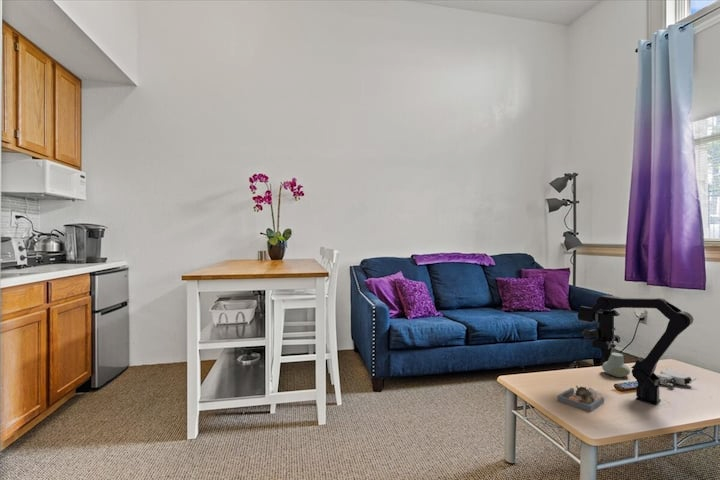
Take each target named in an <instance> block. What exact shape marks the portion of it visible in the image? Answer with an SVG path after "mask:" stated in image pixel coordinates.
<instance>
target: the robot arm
mask: <svg viewBox="0 0 720 480" xmlns="http://www.w3.org/2000/svg"><path fill="white" fill-rule="evenodd" d="M623 308H624V309H626V308H629V309H656V310H658V312H660V313H661V314H662V315H663V316H664V317H665V318H667V319H668V320H669V321H668V323H667V325H666V328H665V331H664V333H663V334H662V335H661V336H660V338H659V339H658V341H657V342H656V343H655V345H654V346H653V347H652V348H651V350H650V352H649V353H648V354H647V355H646V356H645V358H643V357H642V356H641V357H639V358H638V359H636V361H635V363H634V365H633V366H631V369H632V370H631V374H632V377H633V378H634V379H635V380H636V382H637V385H636V387H635V389H636V392H635V395H636V400H638V401H642V402H646V403H648V404H652V405H657V404H659V403H660V402H661V398H660V386H659V384H660V383H659V382H660V379H659V378H658V377H657V376H656V375H657V374H656V373H655V371H656V368H657V366H658V363H659V361H660V360H661V359H662V357H663V356H664V354H665V353H666V352H667V350H669V348H670V347H671V345H673V343H674V342H675V340H676V339H677V338H678V336H679V335H680V334H682V333H683V332H684V331H685V330H686V329H687V328H689V327H690V326H691V325H692V324H693V323H694V317H693V316H692V314H691V313H689V312H687V311H685V310H681V309H680V308H679V307H677V306H675V305H674V304H672V303H671V302H669V301H667V300H666V299H665V298H663V297H657V298H646V297H645V298H644V297H643V298H641V297H640V298H632V297H631V298H630V297H629V298H627V297H625V298H624V297H619V296H615V295H608V294H607V295H602V296H599V297H598V298H597V299H596V304H594V306H593V307H589V306H584V305H580V306H579V310H578V312H577V320H578V321H579V322H583V323H584V322H585V323H591V324H594V323H596V322H597V326H596V327H595V329H589V328H588V329H584V330H583V331H582V337H584V339H585V340H588V339H594V338H595V339H594V340H592V341H591V342H590V346H591V347H592V348H597V349H600V352H601V354H602V358H603V360H604V362H607V361H608V360H609V358H610V356H611V354H612V352H614V351H615V348H616V347H617V344H620V343H621V337H620V336H619V335H617V334H615V331H616V327H615V317H618V316H620V315H621V314H620V313H619V312H618V311H617V309H623ZM601 310H602V311H601ZM611 310H612V311H611ZM613 342H616V343H617V344H615V343H613Z"/></svg>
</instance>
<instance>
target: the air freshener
mask: <svg viewBox="0 0 720 480" xmlns="http://www.w3.org/2000/svg"><path fill="white" fill-rule="evenodd" d="M624 359H625V358H624V355H623V354H622V353H619V352H614V351H613V352H612V354H611V356H610V358H609V360H608V361H604V362H603V364H602V365H601V368H602V370H603V371H604V373H606V374H607V375H610V376H612V377H615V378H623V377H627V376H629V375H630V374H631V369H630V367H629V366H628V365H627V364H625V363H624V361H625V360H624Z"/></svg>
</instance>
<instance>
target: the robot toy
mask: <svg viewBox="0 0 720 480" xmlns="http://www.w3.org/2000/svg"><path fill="white" fill-rule="evenodd" d="M655 375H656V376H657V377H658V378H659V379H660V382H659V383H658V384H661V385H663V386H670V387H673V386H674V385H675V384H677V385H679V386H686V385H690V384H692V382H694V381H696V380H697V378H696V377H695V378H694V379H692V377H691V376H690V375H688V374H687V373H683V372H681V371H677V370H673V369H668V368H666V369H665V370H661V371H660V372H659V373H657V374H655Z"/></svg>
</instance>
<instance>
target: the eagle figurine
mask: <svg viewBox="0 0 720 480" xmlns="http://www.w3.org/2000/svg"><path fill="white" fill-rule="evenodd" d="M575 387H576V391H575V392H574V394H575V397H578V399H579V402H581V401H582V400H583V401H582V403H585V404H588V405H590V404H591V403H593V402H594V401H595V399H594V398H593V397H595V395H596V393H595V392H596V391H595V389H594V388H593V387H588V388H587V387H586V386H585V387H584V386H579V387H578V385H575Z"/></svg>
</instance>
